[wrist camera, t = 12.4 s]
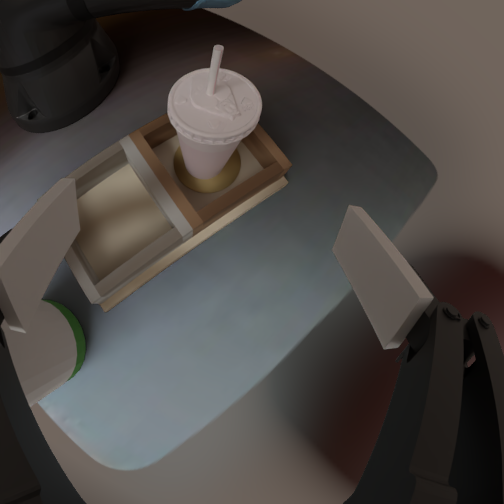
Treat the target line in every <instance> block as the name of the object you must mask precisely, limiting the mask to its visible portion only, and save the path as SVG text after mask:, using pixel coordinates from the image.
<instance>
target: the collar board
mask: <svg viewBox="0 0 504 504" xmlns="http://www.w3.org/2000/svg"><path fill="white" fill-rule="evenodd" d="M291 166H292V164H291V163H290V161H289V160H288V159H287V157H286V156H285V155H284V154H283V152H282V151H281V150H280V149H279V148H278V146H277V145H276V144H275V143H274V141H273V140H272V139H271V138H270V137H269V135H268V134H267V133H266V132H265V131H264V129H263V128H262V127H261V126H260V125H259V124H258V123H257V125H256V127H255V129H254V130H253V131H252V132H251V133H250V134H249V135H248V136H246V137H245V138H243V139H242V140H241V141H240V143H239V144H238V146H237V147H236V149H235V150H234V152H233V153H232V155H231V157H230V158H229V160H228V161H227V163H226V164H225V166H224V167H223V169H222V171H221V172H220V173H219V174H218V175H217V176H215V177H213V178H211V179H198V178H196V177H194V176H192V175H191V174H190V173H189V172H188V171H187V169H186V166H185V163H184V159H183V155H182V151H181V147H180V143H179V139H178V135H177V131H176V129H175V128H174V126H173V125H172V124H171V122H170V119H169V116H168V113H166V114H165V115H163V116H161V117H159V118H157V119H155V120H153V121H152V122H150V123H148V124H146V125H144V126H143V127H141V128H139V129H137V130H136V131H134V132H132V133H131V134H129V135H127V136H126V137H124V138H122V139H121V140H119V141H118V142H116V143H114V144H113V145H111V146H110V147H108V148H107V149H105V150H103V151H102V152H100V153H99V154H97V155H96V156H94V157H93V158H92V159H90V160H89V161H87V162H86V163H84V164H83V165H81V166H80V167H79V168H77V169H76V170H75V171H73V172H72V173H70V174H69V175H68V176H66V177H65V178H75V186H76V197H77V207H78V215H79V223H80V231H79V233H78V234H77V236H76V238H75V239H74V241H73V243H72V244H71V246H70V248H69V249H68V251H67V253H66V254H65V256H64V258H65V260H66V262H67V263H68V265H69V267H70V269H71V271H72V272H73V274H74V276H75V278H76V279H77V281H78V283H79V284H80V286H81V288H82V289H83V291H84V293H85V294H86V296H87V298H88V299H89V301H90V302H91V304H100V306H101V308H102V309H103V311H104V312H108V311H109V310H111V309H112V308H113V307H115V306H116V305H117V304H119V303H120V302H121V301H123V300H124V299H125V298H127V297H128V296H129V295H131V294H132V293H133V292H135V291H136V290H137V289H139V288H140V287H141V286H143V285H144V284H145V283H147V282H148V281H149V280H151V279H152V278H154V277H155V276H156V275H158V274H159V273H160V272H162V271H163V270H165V269H166V268H167V267H169V266H170V265H171V264H173V263H174V262H176V261H177V260H178V259H180V258H181V257H183V256H184V255H185V254H187V253H188V252H190V251H191V250H192V249H194V248H195V247H197V246H198V245H199V244H201V243H202V242H204V241H205V240H207V239H208V238H209V237H211V236H212V235H214V234H215V233H217V232H218V231H219V230H221V229H222V228H224V227H225V226H227V225H228V224H230V223H231V222H233V221H234V220H235V219H237V218H238V217H240V216H241V215H243V214H244V213H246V212H247V211H249V210H250V209H252V208H253V207H255V206H256V205H258V204H259V203H261V202H262V201H264V200H265V199H266V198H268V197H269V196H271V195H273V194H274V193H276V192H277V191H279V190H280V189H282V188H283V187H285V186H286V185H287V184H288V181H287V180H286V179H285V177H284V175H285V173H286V172H287V171H288V170H289V168H290V167H291ZM48 191H49V190H48ZM48 191H47V192H48ZM47 192H46V193H47ZM46 193H45V194H46ZM45 194H44V195H45ZM44 195H42V196H41V197H40V198H39V199H38V200H37V202H38V201H39V200H40V199H41V198H42V197H43V196H44Z"/></svg>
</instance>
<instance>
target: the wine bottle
mask: <svg viewBox="0 0 504 504" xmlns="http://www.w3.org/2000/svg"><path fill="white" fill-rule="evenodd" d="M1 328H2V329H3V331H4V334H5V338H6V341H7V345H8V348H9V352H10V355H11V358H12V361H13V364H14V367H15V370H16V373H17V376H18V379H19V381H20V384H21V387H22V389H23V392H24V394H25V397H26V399H27V402H28V404H29V406H30V407H31V406H32V405H34V404H35V403H36V402H38V401H40V400H41V399H42V398H44V397H45V396H47V395H48V394H50V393H51V392H53V391H54V390H56V389H57V388H59V387H60V386H61V385H63V384H64V383H65V382H67V381H68V380H70V379H71V378H72V377H74V376H75V374H76V373H77V372H78V371H79V370H80V368H81V366H82V364H83V361H84V358H85V351H86V345H85V337H84V334H83V330H82V327H81V326H80V324H79V322H78V320H77V318H76V317H75V316H74V315H73V313H72V312H71V311H70V310H69V309H67V308H66V307H65V306H63V305H62V304H60V303H57V302H55V301H52V300H42V299H41V301H40V304H39V306H38V308H37V310H36V312H35V314H34V316H33V319H32V321H31V323H30V325H29V328H28V330H27V332H26V333H22V332H18V331H14V330H10V328H9V326H8V324H7V322H6V320H5V318H4V320H3V322H2V324H1Z"/></svg>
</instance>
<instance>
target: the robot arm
mask: <svg viewBox="0 0 504 504" xmlns="http://www.w3.org/2000/svg"><path fill="white" fill-rule="evenodd" d="M240 1H242V0H0V72H1V74H2V76H3V83H4V89H5V95H6V100H7V105H8V109H9V112H10V114H11V116H12V117H13V119H14V120H15V121H16V122H17V124H18V125H19V126H20V127H21V128H22V129H24V130H26V131H29V132H33V133H45V132H50V131H54V130H58V129H60V128H63V127H65V126H68V125H70V124H72V123H74V122H75V121H77V120H79V119H80V118H82V117H84V116H85V115H86V114H88V113H89V112H90V111H92V110H93V109H94V108H95V107H96V106H98V105H99V104H100V103H101V102H102V101H103V99H104V98H105V97H106V96H107V95H108V94H109V92H110V91H111V89H112V88H113V86H114V85H115V83H116V80H117V78H118V75H119V70H120V63H119V57H118V52H117V49H116V46H115V44H114V43H113V42H112V40H111V39H110V38H109V36H108V35H107V34H106V32H105V31H104V30H103V28H102V27H101V26H100V24H99V23H98V22H97V20H96V18H98V17H103V16H109V15H115V14H121V13H129V12H137V11H147V10H159V9H179V8H182V9H183V10H185V11H190V10H194V9H196V8H226V7H230V6H232V5H234V4H236V3H238V2H240ZM79 231H80V223H79V215H78V207H77V197H76V186H75V178H61V179H60V180H59V181H58V182H57V183H56V184H55V185H54V186H53V187H52V188H51V189H50V190H49V191H48V192H47V193H46V194H45V195H44V196H43V197H42V198H41V199H40V200H39V201H38V202H37V203H36V204H35V205H34V206H33V207H32V208H31V209H30V210H29V211H28V212H27V213H26V215H25V216H24V217H23V218H22V219H21V220H20V221H19V222H18V223H17V225H16V226H15V227H14V228H13V229H10V230H9V231H8V232H6V233H5V234H4V235H2V236H1V237H0V504H86V503H85V502H84V501H83V499H82V498H81V497H80V495H79V494H78V492H77V491H76V489H75V488H74V487H73V485H72V484H71V482H70V481H69V479H68V478H67V476H66V474H65V473H64V471H63V470H62V468H61V466H60V465H59V463H58V461H57V460H56V458H55V456H54V454H53V453H52V451H51V449H50V447H49V446H48V444H47V442H46V440H45V438H44V436H43V434H42V432H41V430H40V428H39V426H38V424H37V422H36V420H35V417H34V415H33V413H32V411H31V409H30V406H29V404H28V402H27V399H26V397H25V394H24V392H23V389H22V387H21V384H20V381H19V379H18V376H17V373H16V370H15V367H14V364H13V361H12V358H11V355H10V352H9V348H8V345H7V341H6V338H5V334H4V331H3V329H2V328H1V324H2V322H3V320H4V318H5V320H6V322H7V324H8V326H9V328H10V330H14V331H18V332H22V333H26V332H27V330H28V328H29V325H30V323H31V321H32V319H33V316H34V314H35V312H36V310H37V308H38V306H39V304H40V301H41V299H42V297H43V295H44V293H45V291H46V289H47V287H48V285H49V284H50V282H51V280H52V278H53V276H54V274H55V272H56V270H57V269H58V267H59V265H60V263H61V261H62V260H63V258H64V256H65V254H66V253H67V251H68V249H69V248H70V246H71V244H72V243H73V241H74V239H75V238H76V236H77V234H78V233H79ZM332 251H333V253H334V255H335V257H336V258H337V260H338V262H339V264H340V266H341V267H342V269H343V271H344V273H345V275H346V276H347V278H348V280H349V282H350V284H351V286H352V288H353V289H354V291H355V293H356V295H357V297H358V299H359V301H360V303H361V304H362V306H363V308H364V310H365V312H366V314H367V316H368V318H369V320H370V322H371V324H372V326H373V328H374V330H375V332H376V334H377V336H378V338H379V340H380V342H381V344H382V346H383V348H384V349H390V348H398V347H399V346H400V344H401V343H402V342H403V340H404V339H405V338H407V340H408V342H409V344H408V346H407V347H406V348H405V350H404V351H403V352H402V353H401V354H400V355H399V357H398V358H397V360H396V362H398V361H399V360H400V359H402V358H403V359H402V363H401V367H400V371H399V375H398V378H397V382H396V385H395V389H394V392H393V396H392V399H391V402H390V405H389V408H388V411H387V414H386V417H385V420H384V423H383V426H382V428H381V431H380V434H379V437H378V439H377V442H376V444H375V447H374V449H373V452H372V454H371V456H370V459H369V461H368V464H367V466H366V468H365V471H364V473H363V475H362V477H361V479H360V481H359V483H358V485H357V487H356V489H355V491H354V493H353V494H352V495H351V496H350V497H349V498H348V499H347V500H346V501H345V502H344V503H343V504H504V356H503V352H502V349H501V346H500V343H499V340H498V337H497V334H496V332H495V329H494V326H493V324H492V322H491V321H490V319H489V318H488V316H486V315H485V314H483V313H481V312H474V314H473V315H472V316H471V318H470V319H469V320H467V319H464V318H462V316H461V314H460V313H459V311H458V310H457V309H456V308H455V307H454V306H452V305H451V304H449V303H446V302H441V303H439V301H438V300H437V299H436V297H435V296H434V294H433V293H432V292H431V290H430V289H429V287H428V286H427V285H426V283H424V282H423V279H422V278H421V277H420V276H419V274H418V273H417V271H416V270H415V269H414V268H413V266H411V265H410V264H409V263H408V262H407V261H406V260H405V259H404V257H403V256H402V255H401V253H399V251H398V250H397V248H396V247H395V246H394V245H393V243H392V242H391V241H390V240H389V239H388V237H387V236H386V235H385V234H384V233H383V231H382V230H381V229H380V228H379V227H378V226H377V224H376V223H375V222H374V221H373V220H372V219H371V218H370V216H369V215H368V214H367V213H366V212H365V211H364V210H363V208H362V207H357V206H352V205H349V206H348V209H347V211H346V214H345V217H344V220H343V222H342V225H341V228H340V230H339V233H338V236H337V238H336V241H335V243H334V246H333V249H332ZM474 355H475V357H476V361H475V362H474V363H473V364H472V365H471V366H470V367H468V366H467V362H468V361H469V360H470V359H471V358H472V356H474Z"/></svg>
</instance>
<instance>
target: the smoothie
mask: <svg viewBox="0 0 504 504" xmlns="http://www.w3.org/2000/svg"><path fill="white" fill-rule="evenodd" d="M223 50H224V47H223V46H221V45H215V46H214V49H213V54H212V60H211V66H210V68H204V69H199V70H196V71H193V72H190V73H188V74H186V75H184V76H183V77H181V78H180V79H179V80H178V81H177V82H176V83H175V84H174V85H173V87H172V88H171V90H170V93H169V96H168V116H169V119H170V122H171V124H172V125H173V126H174V128H175V129H176V131H177V135H178V139H179V143H180V147H181V151H182V155H183V159H184V163H185V166H186V169H187V171H188V172H189V173H190V174H191V175H192V176H194V177H196V178H198V179H211V178H213V177H215V176H217V175H218V174H219V173H220V172H221V171H222V169H223V167H224V166H225V164H226V163H227V161H228V160H229V158H230V157H231V155H232V153H233V152H234V150H235V149H236V147H237V146H238V144H239V143H240V141H241V140H242V139H243V138H245V137H246V136H248V135H249V134H250V133H251V132H252V131H253V130H254V129H255V127H256V125H257V123H258V121H259V118H260V114H261V111H262V100H261V96H260V94H259V92H258V90H257V88H256V87H255V86H254V84H253V83H252V82H250V81H249V80H248V79H247V78H245V77H244V76H242V75H240V74H238V73H236V72H234V71H231V70H227V69H221V68H220V63H221V59H222V54H223Z"/></svg>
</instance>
